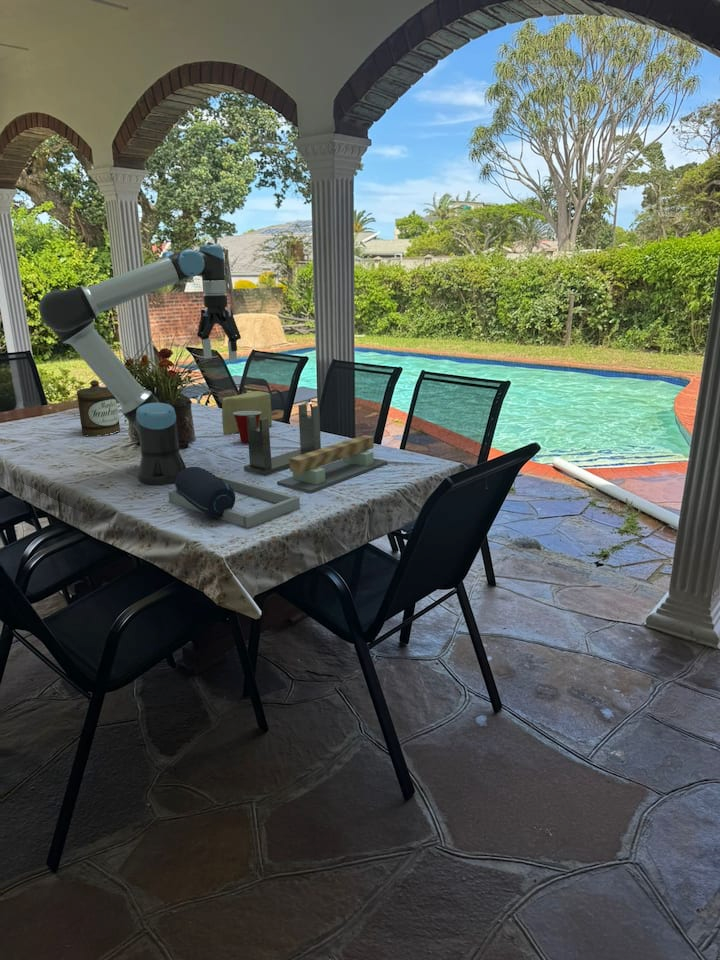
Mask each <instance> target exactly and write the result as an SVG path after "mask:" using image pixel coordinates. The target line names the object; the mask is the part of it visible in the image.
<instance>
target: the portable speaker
mask: <svg viewBox="0 0 720 960" xmlns="http://www.w3.org/2000/svg"><path fill="white" fill-rule="evenodd" d="M174 486H175V489H177V491H178V493H179V494H180V495H182V496H183V497H184V498H185V499H186V500H187V501H188V502H190V503H191V504H192V505H193V506H195V507H196V508H198V509H199V510H200V511H202V512H203V513H202V512H201V513H202V514H204V515H206V516H208V517H210V518H213V519H216V518H217V519H219V518H220V517H223V513H224V510H226V509H228V508H229V509H232V510H233V508H234V507H235V503H236V494H235V491H233V489H232V487H231V486H230V485H229V484H227V483H225V482H224V481H222V479H219V477H218V476H216V475H215V474H213V473H212V472H210V471H208V470H206V469H205V468H202V467H200V466H188V467H186V468H185V469H183V470H182V471H180V472H179V474H178V475H177V477H176V480H175V482H174Z"/></svg>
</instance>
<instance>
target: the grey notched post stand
mask: <svg viewBox="0 0 720 960" xmlns="http://www.w3.org/2000/svg"><path fill="white" fill-rule="evenodd" d="M320 413H321V412H320V405H313V406H310V415H309V414H308V405H307V403H302V404H298V424H299V447H300V448H299V449H296V450H293V451H290V452H289V451H288V452H285V453H283V454H280V455H279V454H278V455H277V456H272V453H271V452H272V451H271V437H270V427H269V418H263V419H259V426H260V428H257V424H256V416H249V417H247V431H248V444H247V445H248V456H249V457H248V458H249V464H246V465H244V466H243V471H245V472H249V473H253V474H257V475H261V476H264V477H265V476H268V475H272V474H275V473H277V472H278V473H279V472H281V471H283V470H286V469H290V459H289V458H293V457H296V456H299V455H302V454H305V453H309V452H312V451H315V450H318V449H321V447H322V445H321V444H322V443H321V442H322V441H321V420H320V419H321V416H320V415H321V414H320Z"/></svg>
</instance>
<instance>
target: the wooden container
mask: <svg viewBox="0 0 720 960" xmlns="http://www.w3.org/2000/svg"><path fill="white" fill-rule="evenodd" d="M99 384H100V383H99V381H98V380H94V379H93V380H91V381H90V382H89V385H90V387H86V388H85V387H84V388H81V389H79V390H76V397H77V403H78V404H77V405H78V410H79V419H80V425H81V433H82V435H83V436H84V435H88V436H97V435H105V434H110V433H114V432H116V431H119V430H120V431H121V427H120V426H121V425H120V419H119V410H118V405H117V399H116V398H115V396H114V395H113V394H112V393H111V392H110V391H109V389H108V388H107V387H106V386H100V385H99ZM88 436H87V437H88Z"/></svg>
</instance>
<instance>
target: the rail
mask: <svg viewBox="0 0 720 960" xmlns="http://www.w3.org/2000/svg"><path fill="white" fill-rule="evenodd" d="M374 448H375V447H374V436H372V435H365V434H364V435H361V436H357V437H354V438H351V439H348V440H344V441H341V442H338V443H334V444H331V445H327V446H324V447H322V448H321V449H318V450H315V451H312V452H309V453H305V454H302V455H299V456H296V457H293V458H289V459H290V468H289V472H292V473H293V472H296V473H303V472H305V471H308V470H311V469H314V468H317V467H321V466H324V465H327V464H330V463H333V462H336V461H339V460H341V459H343V458H346V457H349V456H352V455H355V454H358V453H361V452H364V451H370V450H372V449H374Z"/></svg>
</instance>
